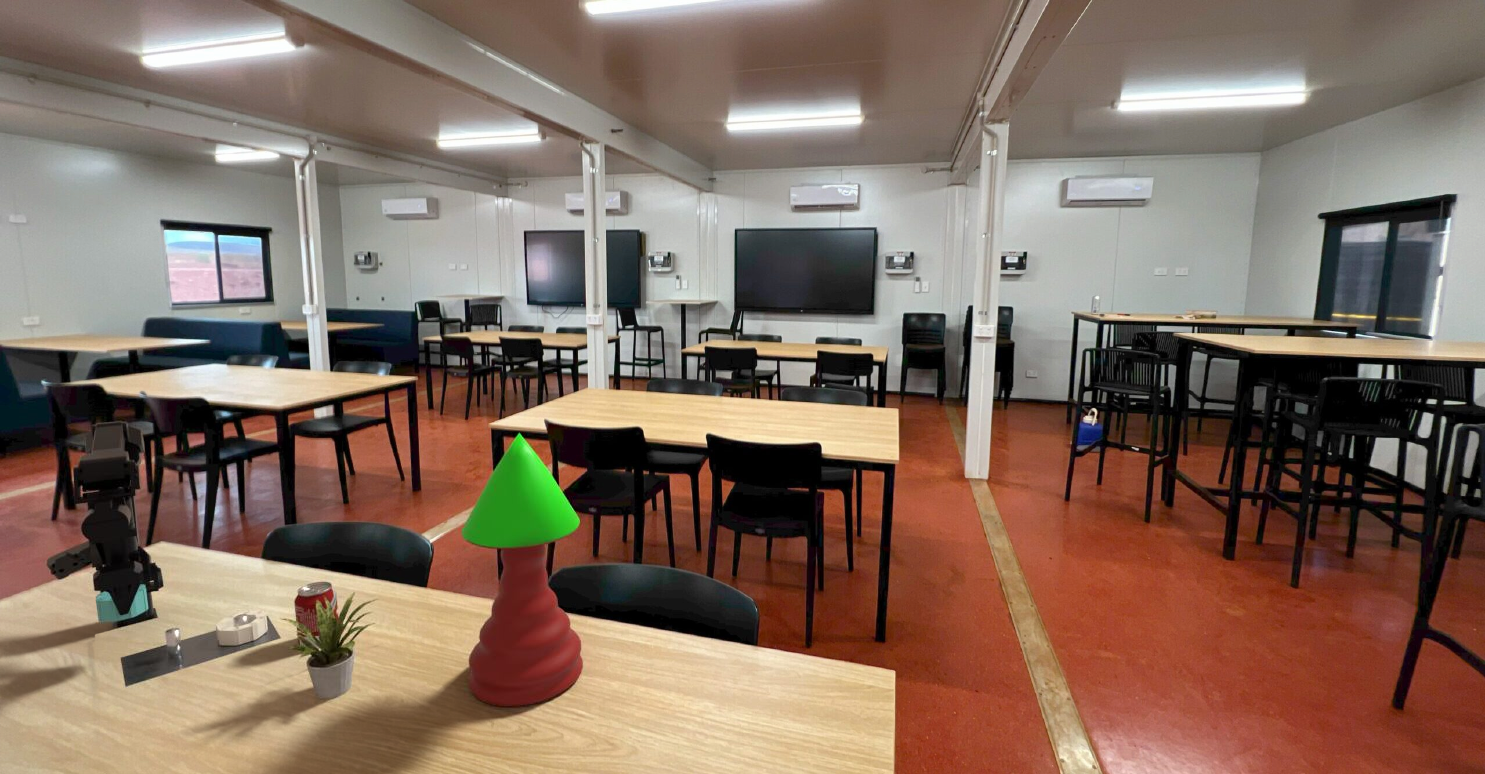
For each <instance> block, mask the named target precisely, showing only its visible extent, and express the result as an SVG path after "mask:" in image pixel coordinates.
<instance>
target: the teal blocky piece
mask: <svg viewBox="0 0 1485 774" xmlns="http://www.w3.org/2000/svg"><path fill="white" fill-rule="evenodd" d="M95 605H96V611H97V619H98V622H101V623H102V622H103V623H104V622H105V623H113V622H116V621H120V620H124V619H128V618H132V617H135V616H137V615H139V614H141V613H143V612H145V611H147V610H148V601H147V593H146V587H145V585H144V584H140V586H139V589H138V591H137V593H136V596H135V598H134V601H133V603H132V606H131V608H130V611H129V613H128V614H125V615H120V614H119V612H118V610H117V608H116V606H115V604H114V602H113V600H112V598H111V596H110V594H109V593H108V592H102V593H98V594H97V595H95Z"/></svg>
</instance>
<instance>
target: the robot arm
mask: <svg viewBox="0 0 1485 774" xmlns="http://www.w3.org/2000/svg"><path fill="white" fill-rule="evenodd" d="M143 435H144V434H143V432H142V430H141V429H138V428H136V427H132V426H129V424H128V422H127V421H122V420H120V421H109V422H108V421H107V422H97V423H96V424H91V431H89V432H88V433H86V434H85V435H84V444H85V445H84V446H85V454H84V455H82V456H80V458H79V460H78V464H77V466H73V467H72V468H73V471H72V475H73V498H74V500H73V501H74V505H81V504H86V509H87V511H86V513H85V515H84V518H83V521H82V524H81V526H80V527H81V529H80V531H81V534H82V535H83V537H84V538H85V539H87V541H85V542H83V543H78V544H77V545H74V546H72V547H70V548H68V549H65V550H63V551H61V552H58V553H56V554H54V555H52V556H51V557H49V558H48V559H47V560H46V567H47V569H49V571H50V575H52V576H54V577H55V578H56V579H57V580H58V581H59V580H63V579H65V578H67V577H69V575H71V574H73V573H77V572H78V571H81V570H82V569H84V568H86V567H88V566H90V565H91V567H92V568H95V572H94V573H93V575H92V582H93V589H94V592H100V593H102V592H108V593H109V594H110V596H111V598H112V600H113V602H114V604H115V606H116V608H117V610H118V612H119V614H120V615H125V614H128V613H129V611H130V608H131V606H132V603H133V601H134V598H135V596H136V593H137V591H138V589H139V586H140V584H144V585H145V587H146V593H147V601H148V610H147V611H145V612H143V613H141V614H139V615H137V616H135V617H132V618H128V619H124V620H120V621H116V622H112V624H113V629H114V630H117V629H121V628H125V627H128V626H132V625H136V624H139V623H144V622H147V621H152V620H155V619H158V618H159V617H158V614H157V610H156V608H155V607H154V606H153V605H154V604H153V603H154V602H153V594H152V593H153V592H159V591H160V589H162V588H164V579H163V573H162V569H161V568H162V567H159V566H158V565H157V564H156V562H152V556H151V554H149V553H148V551H146V550H145V548H143V547H142V546H141V545H140V536H139V526H138V516H137V515H138V513H137V507H136V506H137V505H136V496H137V490H141V476H140V475H141V474H140V473H141V472H140V465H141V464H142V454H145V451H146V450H145V441H144V436H143ZM82 492H83V493H82ZM100 593H99V594H100Z"/></svg>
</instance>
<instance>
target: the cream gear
mask: <svg viewBox="0 0 1485 774" xmlns="http://www.w3.org/2000/svg"><path fill="white" fill-rule="evenodd" d="M241 614H247V616H248V624H246V625H242V626H239V627H235V617H236V616H238V615H241ZM266 616H267V615H266V614H265V611H263V610H246V611H242V612H239V613H236V614H232V615H229V616H227V617H226V616H225V618H223V619H221V620H220V621H219V622H218V623H216V624H215V630H216V632H217V640H218V641H219V645H234V646H235V645H240V644H243V643H246V642H250V641H253V640H256V639H258V638H259V637H260V636H262V635H263V634H264V633H266V632H267V630H268V628H267V618H266Z"/></svg>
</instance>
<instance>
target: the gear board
mask: <svg viewBox="0 0 1485 774" xmlns="http://www.w3.org/2000/svg"><path fill="white" fill-rule="evenodd" d="M266 618H267V628H268V630H267V632H266V633H264V634H263V635H262V636H260V637H259V638H258V639H256V640H253V641H250V642H246V643H243V644H240V645H235V646H234V645H219V641H218V640H217V632H216V629H215V630H212V631H208V632H205V633H202V634H201V633H200V634H198V635H194V636H191V637H188V638H184V639H182V638H181V637H182V636H181V629H180V627H173V628H169V629H167V630H166V631H165V632H164V635H165V642H166V643H165V644H164V645H160V646H157V647H153V648H150V649H146V650H142V651H139V652H135V653H132V654H129V655H125V656H122V657H120V658H121V666H122V671H123V677H124V682H125V687H129V686H132V685H135V684H138V683H142V682H146V681H149V680H151V679H155V678H157V677H161V676H164V675H168V674H171V673H175V672H177V671H180V670H184V669H187V668H191V667H193V666H194V667H195V666H197V665H200V664H202V663H207V662H209V661H212V660H216V659H219V658H223V657H225V656H228V655H231V654H235V653H237V652H241V651H245V650H248V649H251V648H254V647H257V646H260V645H263V644H268V643H270V642H274V641H277V640H280V639H282V637H281V636H280V634H279V632H278V630H277V629H276V627H275V626H274V624H273V622H272V621H271V619H270V617H269V616H268V615H266ZM246 624H248V616H247V614H241V615H238V616H236V617H235V627H239V626H242V625H246Z"/></svg>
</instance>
